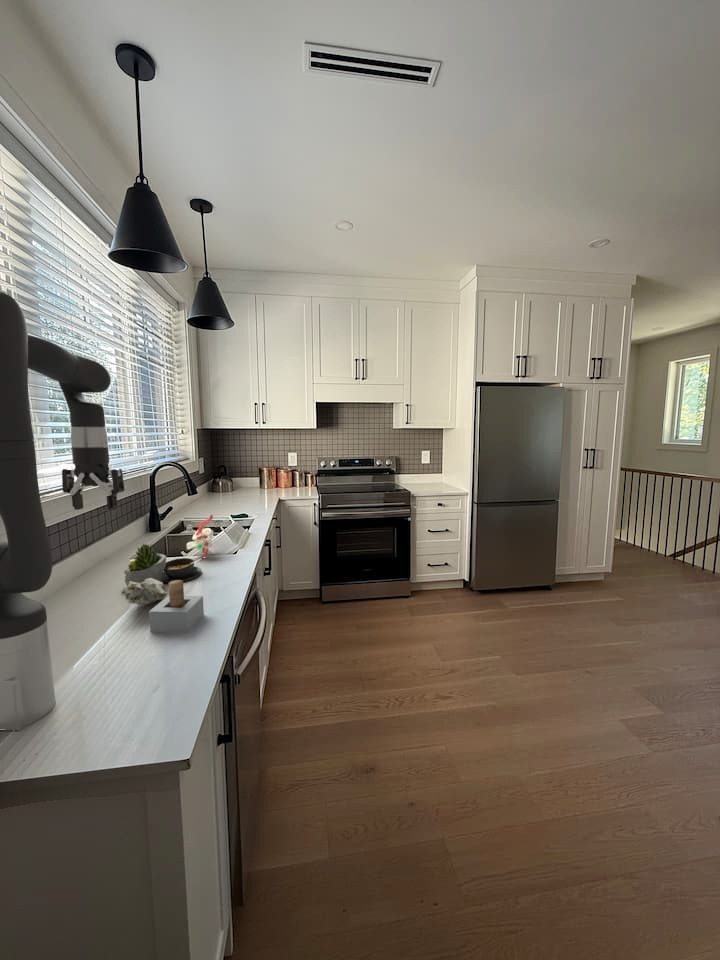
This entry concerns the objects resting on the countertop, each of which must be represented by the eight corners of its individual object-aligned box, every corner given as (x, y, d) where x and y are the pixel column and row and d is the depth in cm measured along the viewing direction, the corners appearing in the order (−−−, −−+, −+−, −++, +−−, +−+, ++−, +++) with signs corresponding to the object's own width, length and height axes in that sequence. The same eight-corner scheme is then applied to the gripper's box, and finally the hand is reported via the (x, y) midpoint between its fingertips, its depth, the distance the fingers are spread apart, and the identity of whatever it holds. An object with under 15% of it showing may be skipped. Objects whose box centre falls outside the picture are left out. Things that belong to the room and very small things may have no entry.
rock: (159, 617, 112) (157, 584, 111) (117, 622, 109) (115, 588, 108) (172, 591, 130) (170, 562, 129) (136, 595, 127) (134, 565, 126)
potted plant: (123, 584, 136) (119, 542, 134) (163, 576, 144) (161, 536, 142) (127, 596, 127) (124, 551, 125) (170, 586, 134) (168, 544, 132)
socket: (187, 633, 103) (186, 612, 103) (150, 633, 104) (148, 611, 103) (203, 615, 113) (202, 596, 112) (169, 615, 113) (168, 595, 113)
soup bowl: (184, 567, 154) (183, 549, 153) (212, 575, 146) (211, 555, 145) (147, 580, 141) (146, 560, 140) (176, 589, 133) (174, 568, 132)
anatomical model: (187, 553, 170) (185, 513, 168) (213, 550, 174) (211, 511, 172) (187, 564, 156) (184, 520, 154) (215, 561, 161) (213, 518, 158)
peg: (181, 627, 107) (179, 585, 105) (168, 627, 107) (165, 584, 105) (187, 621, 110) (185, 580, 109) (175, 620, 110) (172, 579, 109)
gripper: (49, 446, 94) (56, 512, 96) (108, 446, 94) (113, 512, 96) (73, 444, 102) (79, 506, 104) (127, 445, 101) (132, 506, 103)
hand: (95, 509), depth 100 cm, fingers open, 8 cm apart
